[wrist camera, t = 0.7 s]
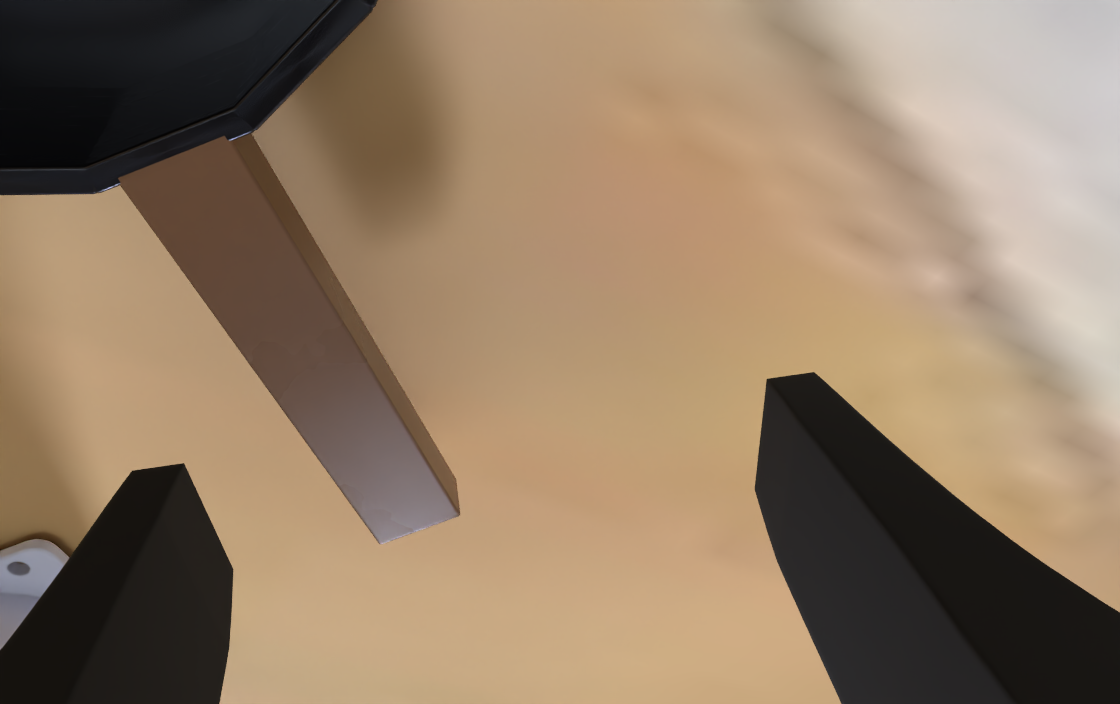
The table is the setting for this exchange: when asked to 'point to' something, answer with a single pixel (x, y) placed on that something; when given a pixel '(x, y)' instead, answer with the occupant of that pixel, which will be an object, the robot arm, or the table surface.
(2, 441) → the table surface
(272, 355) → the pan
